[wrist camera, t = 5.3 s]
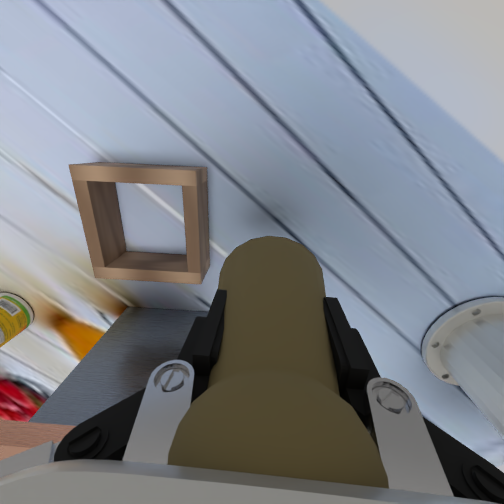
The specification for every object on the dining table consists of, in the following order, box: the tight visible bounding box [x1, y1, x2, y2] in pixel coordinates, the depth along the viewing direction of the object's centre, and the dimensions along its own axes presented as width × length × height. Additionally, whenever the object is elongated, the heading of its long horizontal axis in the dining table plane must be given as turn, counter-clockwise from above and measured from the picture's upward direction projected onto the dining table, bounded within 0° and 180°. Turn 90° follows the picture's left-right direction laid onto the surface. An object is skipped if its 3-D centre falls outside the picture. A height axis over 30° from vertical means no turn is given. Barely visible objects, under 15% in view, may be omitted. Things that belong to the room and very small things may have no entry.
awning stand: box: [0, 307, 208, 461], centre depth 21 cm, size 10×5×17 cm, turn 88°
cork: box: [167, 236, 389, 489], centre depth 9 cm, size 6×6×11 cm
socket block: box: [69, 162, 210, 284], centre depth 24 cm, size 10×10×4 cm
